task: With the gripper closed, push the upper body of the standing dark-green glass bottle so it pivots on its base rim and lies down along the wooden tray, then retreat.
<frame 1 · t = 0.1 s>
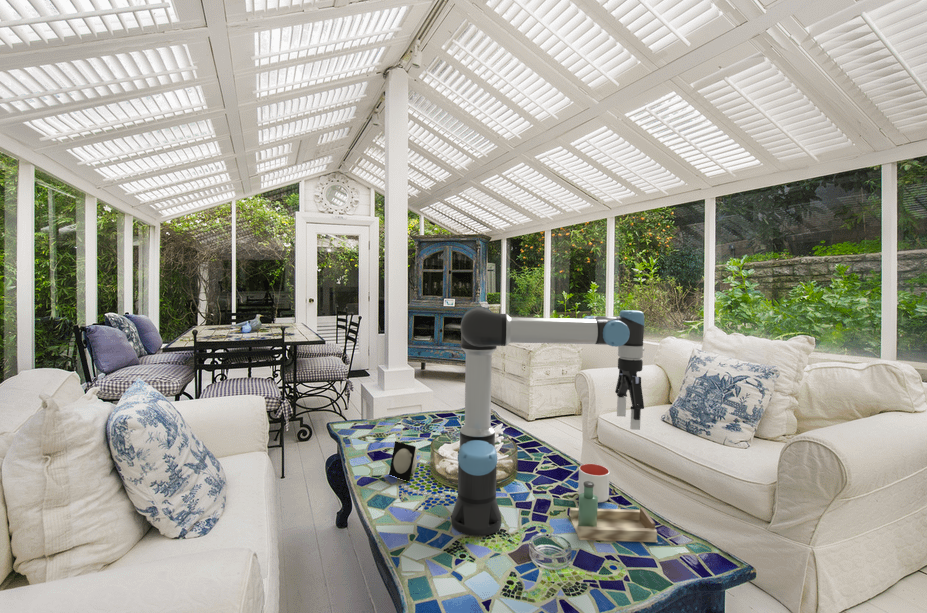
hand: (627, 422, 146), 28 cm above the table, fingers open, 13 cm apart
wooden tray: (611, 530, 133), on the table
bottle: (587, 526, 133), point 1 cm above the table, touching wooden tray
cup: (593, 498, 153), on the table
decorative object: (405, 476, 168), on the table
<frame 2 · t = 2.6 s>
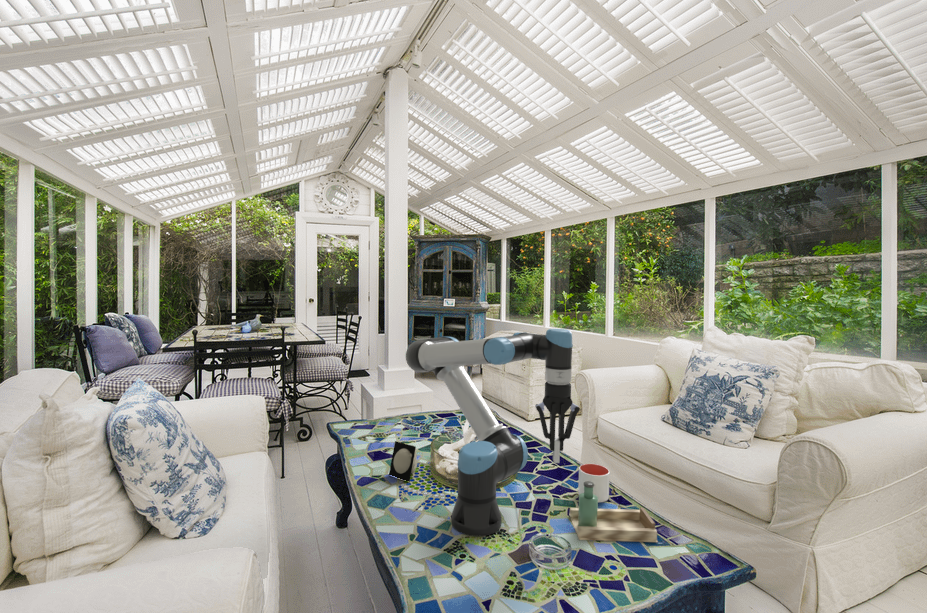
hand: (556, 461, 132), 21 cm above the table, fingers closed
nothing on the table moved.
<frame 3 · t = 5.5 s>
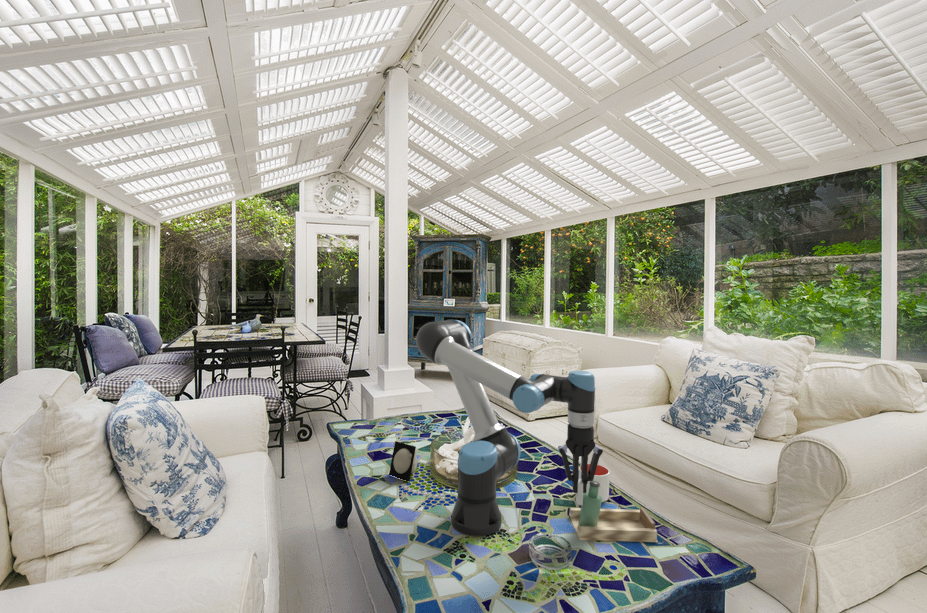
hand: (579, 503, 132), 8 cm above the table, fingers closed
bottle: (587, 525, 133), point 1 cm above the table, tilted 8°, touching wooden tray, gripper
everything else where it was.
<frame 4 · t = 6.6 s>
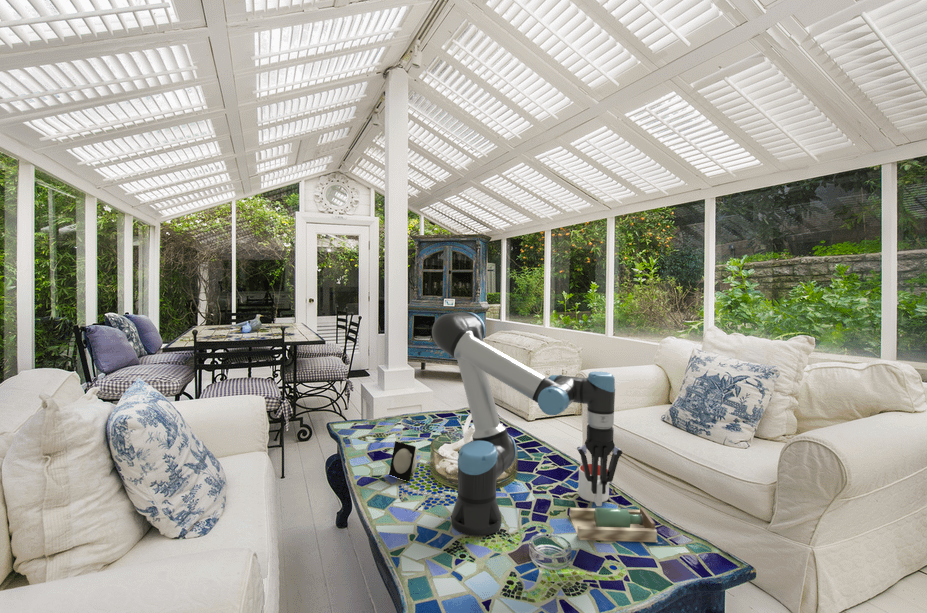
hand: (598, 503, 132), 8 cm above the table, fingers closed
bottle: (596, 517, 133), point 4 cm above the table, tilted 90°, touching wooden tray
everything else where it was.
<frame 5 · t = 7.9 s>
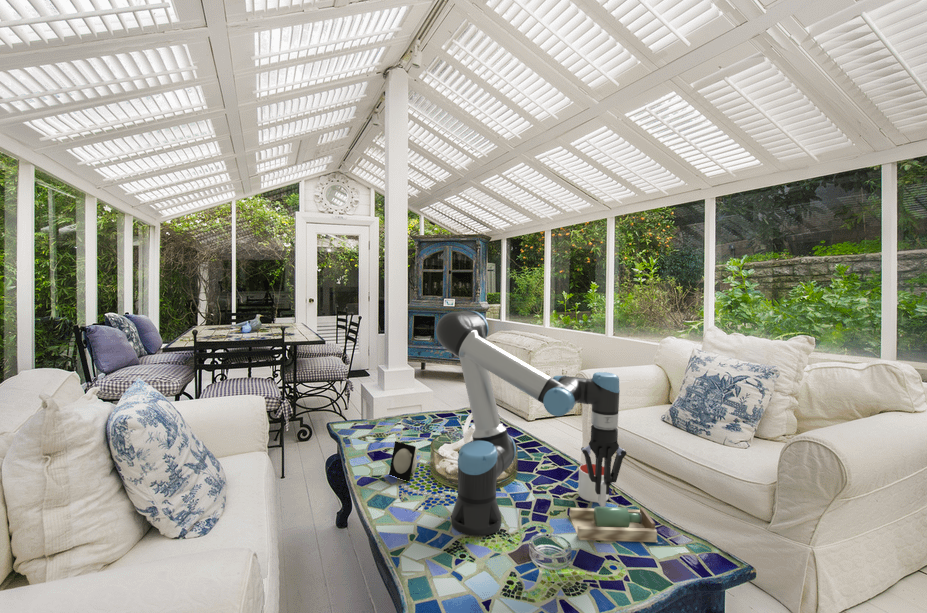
hand: (601, 504, 133), 8 cm above the table, fingers closed
nothing on the table moved.
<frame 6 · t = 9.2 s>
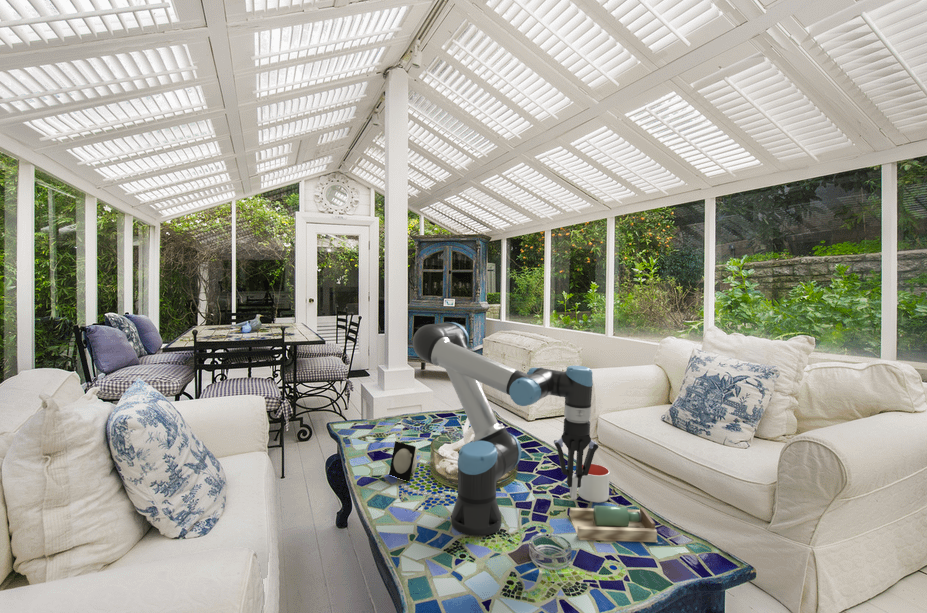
hand: (573, 497, 133), 10 cm above the table, fingers closed
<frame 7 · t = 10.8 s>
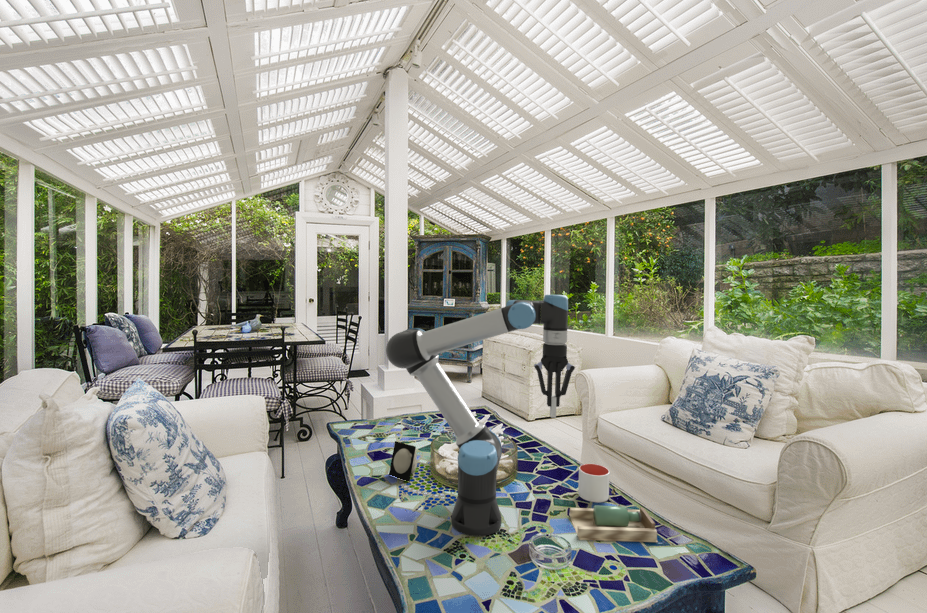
hand: (552, 416, 144), 30 cm above the table, fingers closed
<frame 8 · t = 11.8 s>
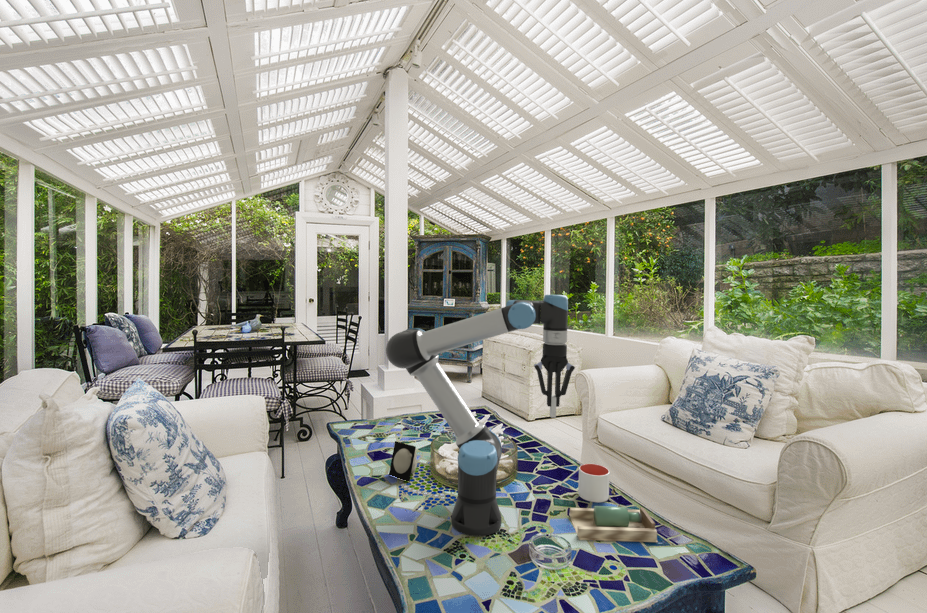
hand: (552, 416, 144), 30 cm above the table, fingers closed
at the end: bottle tilted 90°; bottle inside the target area on the wooden tray (1.8 cm from its centre), point 3.7 cm above the wooden tray's base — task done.
